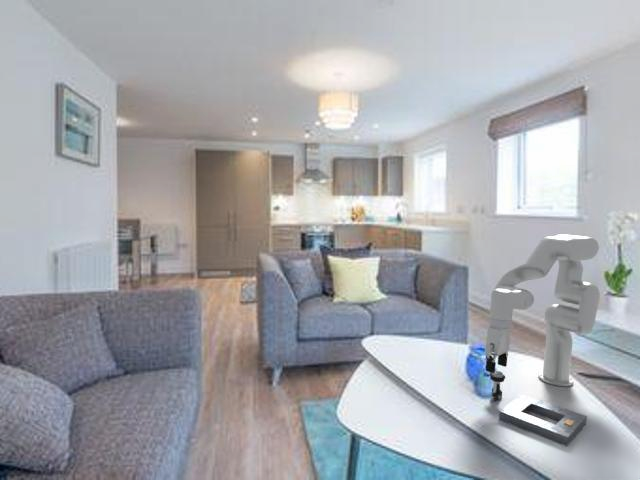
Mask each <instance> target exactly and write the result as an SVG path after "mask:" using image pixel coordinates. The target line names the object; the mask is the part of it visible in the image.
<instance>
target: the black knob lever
mask: <svg viewBox="0 0 640 480" xmlns="http://www.w3.org/2000/svg"><path fill="white" fill-rule="evenodd" d="M489 379H490V380H491V381H492V382H493V385H492V388H491V392H490V400H489V401H491V402H493V401H494V402H497V401H498V400H499V401H500V400H501V399H502V398H503V391H502V390H501V383H504V382H505V379H506V376H505V374H504V373H503V372H502V371H499V370H495V373H491V372H489Z"/></svg>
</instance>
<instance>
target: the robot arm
mask: <svg viewBox="0 0 640 480" xmlns="http://www.w3.org/2000/svg"><path fill="white" fill-rule="evenodd" d="M599 246H600V245H599V243H598V240H596V239H595V238H594V237H589V236H582V235H572V234H556V235H554V236H553V235H552V236H551V235H550V236H545V237H543V238H542V239H541V240H540V241H539V243H538V244H537V246H536V247H535V248H534V250H533V251H532V253H531V254H530V256H529V257H528V259H527V260H526V261H525V262H524V263H522V264H520V265H518V266H516V267H514V268H513V269H511V270H509V271H507V272H506V273H504V274H503V275H502V276H501V278H500V279H499V281H498V282H497V284H496V285H495V287H494V289H492V291H491V295H490V297H491V298H490V306H489V307H490V308H489V321H488V330H487V334H486V341H485V348H484V353H485V372H488V373H495V371H496V363H497V365H499V366H502V367H503V368H506V367H507V365H508V356H509V350H510V349H509V348H510V345H511V342H510V337H511V336H510V333H511V331H510V330H512V321H513V312H514V311H513V310H528V309H530V308H531V307H532V306H533V304H534V301H535V298H534V295H533V293H532V292H531V291H530V290H527V289H525V288H520V287H517V285H518V284H520V283H523V282H528V281H533V280H538V279H542V278H545V277H546V276H547V275H548V274H549V272H550V270H551V269H552V268H553V266H554V265H555V263H556V262H558V272H557V276H556V277H557V278H556V281H555V284H554V285H555V286H554V297H555V299H556V300H559V301H560V302H564V303H568V304H573V305H577V306H578V308H576V307H574V306H569V305H565V304H560V303H554V304H550V305H548V306H547V308H546V310H545V312H544V318H545V320H544V321H545V328H546V330H545V331H546V332H545V346H544V358H543V371H541V372H540V371H539V373H538V378H539V379H540V380H541V381H542V382H544V383H546V384H549V385H552V386H557V387H571V386H573V385H574V380H573V378H572V377H571V376H570V371H571V363H572V351H573V337H572V334H571V333H574V334H577V335H582V336H583V335H584V336H586V335H589V334H591V332H592V331H593V328H594V326H595V322H596V317H597V314H598V313H597V312H598V308H599V303H600V295H601V294H600V289H599V287H598V286H597V285H596V284H594V283H593V282H588V281H582V277H583V272H584V268H583V267H584V266H583V263H582V261H587V260H591V259H593V258H595V257H596V256H597V254H598V253H599V250H600V249H599V248H600V247H599ZM570 332H571V333H570ZM496 359H497V362H496Z"/></svg>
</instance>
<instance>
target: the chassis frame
mask: <svg viewBox="0 0 640 480" xmlns="http://www.w3.org/2000/svg"><path fill="white" fill-rule="evenodd" d="M530 413H534V414H536V415H538V416H542V417H545V418H547V419H550V420H552V421H555V422H557V423H556V424H555V423H553V422H549V421H546V420H544V419H542V418H540V417H536V416H533V415H530ZM499 419H500V420H499ZM498 420H499V421H501V420H502V422H504V421H505V422H504V423H506V422H507V424H509V423H510V425H511V424H512V426H514V427H516V426H517V428H519V429H522V430H524V431H527V432H530V433H532V434H535V435H536V436H537V435H538V436H540V437H542V438H544V439H547V440H550V441H551V442H552V441H553V442H554V443H557V444H560V445H562V446H565V447H568V446H569V445H570V443H572V441H573V440H574V439H575V438H576V437H577V436H578V435H579V433H581V431H582V430H584V428H585V427H586V425H587V422H588V421H587V420H588V416H587V415H584V414H582V413H579V412H576V411H574V410H570V409H567V408H564V407H561V406H558V405H555V404H553V403H550V402H547V401H544V400H541V399H538V398H534V397H532V396H529V395H526V394H524V393H522V394H521V395H519V396H518V397H516V398H515V399H513V401H511V402H509V403H508V404H507V405H505V406H504V407H503V408H502V409H500V410H499V411H498Z"/></svg>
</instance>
